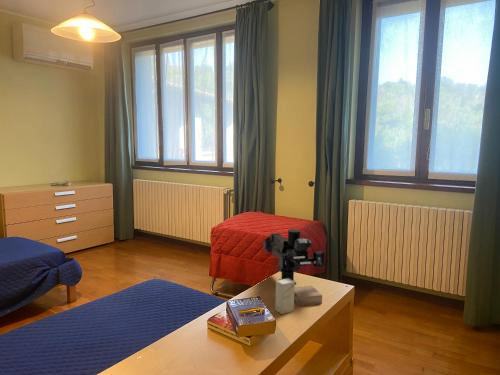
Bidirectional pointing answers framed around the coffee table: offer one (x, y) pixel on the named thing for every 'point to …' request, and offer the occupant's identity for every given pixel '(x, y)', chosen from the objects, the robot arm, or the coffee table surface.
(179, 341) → the coffee table surface
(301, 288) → the grey square block
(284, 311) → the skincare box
